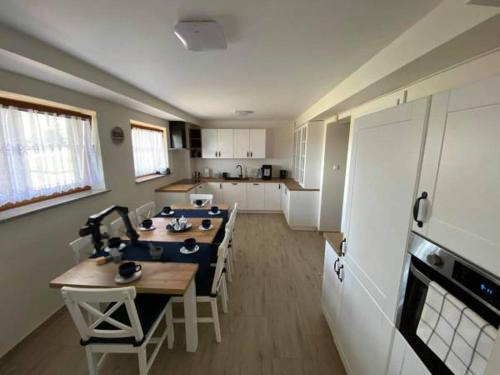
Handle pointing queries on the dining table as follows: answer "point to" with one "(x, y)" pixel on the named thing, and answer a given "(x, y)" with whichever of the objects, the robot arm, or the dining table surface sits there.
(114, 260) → the housing
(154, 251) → the mortar and pestle
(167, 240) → the dining table surface
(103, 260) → the plug
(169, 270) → the dining table surface
